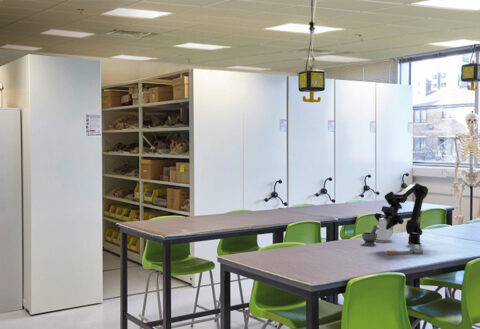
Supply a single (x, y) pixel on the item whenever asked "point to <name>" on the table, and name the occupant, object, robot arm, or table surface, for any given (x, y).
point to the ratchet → (406, 251)
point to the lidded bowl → (378, 232)
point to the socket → (384, 229)
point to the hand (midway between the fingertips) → (383, 228)
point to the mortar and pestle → (370, 236)
